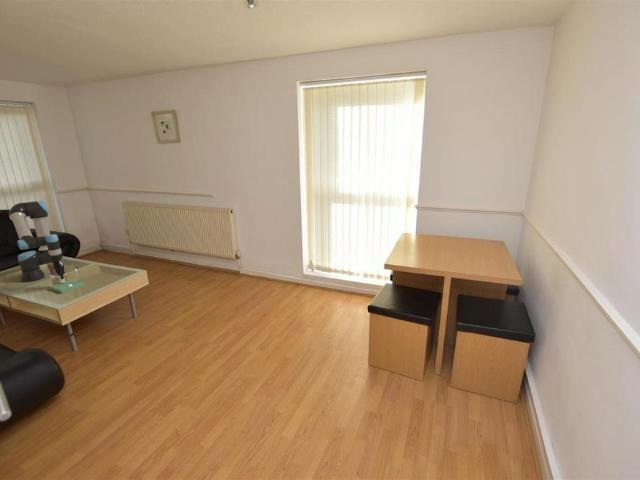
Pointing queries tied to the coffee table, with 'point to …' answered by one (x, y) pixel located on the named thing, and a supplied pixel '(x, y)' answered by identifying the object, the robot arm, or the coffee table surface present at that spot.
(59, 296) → the coffee table surface
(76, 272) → the pin
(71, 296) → the coffee table surface
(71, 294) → the coffee table surface
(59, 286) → the green board
